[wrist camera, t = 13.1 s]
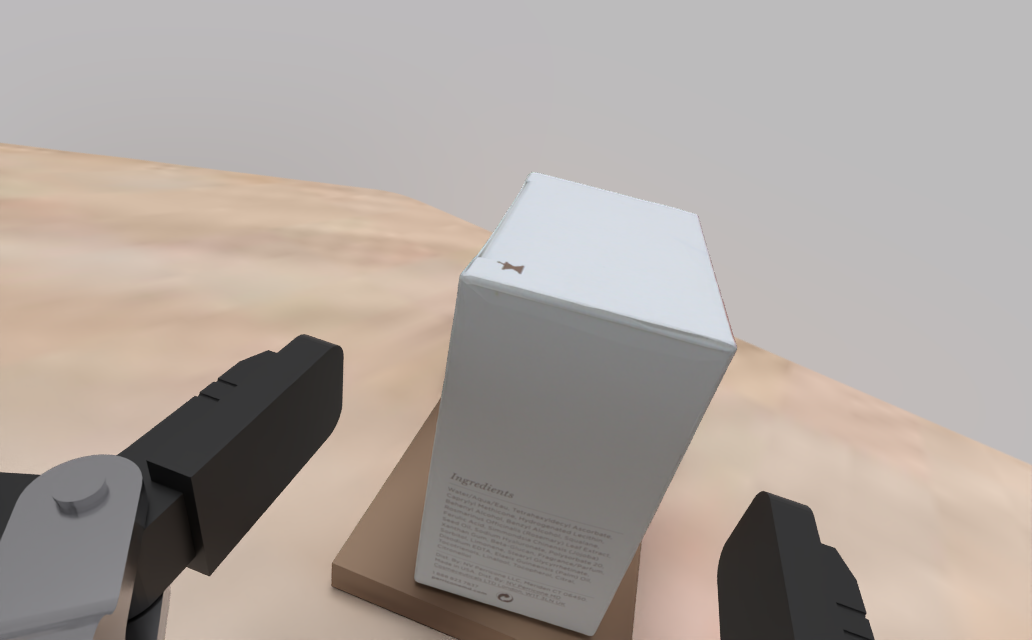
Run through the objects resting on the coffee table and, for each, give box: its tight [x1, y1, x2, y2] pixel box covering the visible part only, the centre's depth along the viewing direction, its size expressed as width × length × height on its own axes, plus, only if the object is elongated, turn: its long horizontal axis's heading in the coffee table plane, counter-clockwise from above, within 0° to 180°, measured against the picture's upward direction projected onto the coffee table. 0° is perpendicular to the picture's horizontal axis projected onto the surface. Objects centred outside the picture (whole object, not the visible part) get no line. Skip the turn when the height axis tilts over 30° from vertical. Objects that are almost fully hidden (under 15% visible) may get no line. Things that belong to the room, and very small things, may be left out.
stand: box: [332, 399, 642, 640], centre depth 20 cm, size 9×14×6 cm, turn 164°
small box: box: [414, 172, 737, 636], centre depth 16 cm, size 8×6×10 cm
